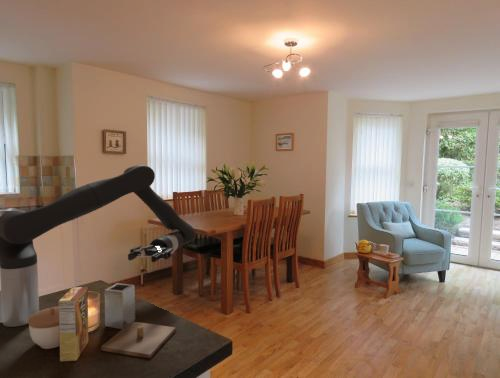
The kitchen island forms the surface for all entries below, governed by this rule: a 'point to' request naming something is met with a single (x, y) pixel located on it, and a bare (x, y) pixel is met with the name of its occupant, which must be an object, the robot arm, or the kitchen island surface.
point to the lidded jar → (45, 328)
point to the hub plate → (139, 339)
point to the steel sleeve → (119, 305)
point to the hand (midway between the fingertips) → (140, 258)
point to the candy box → (73, 323)
